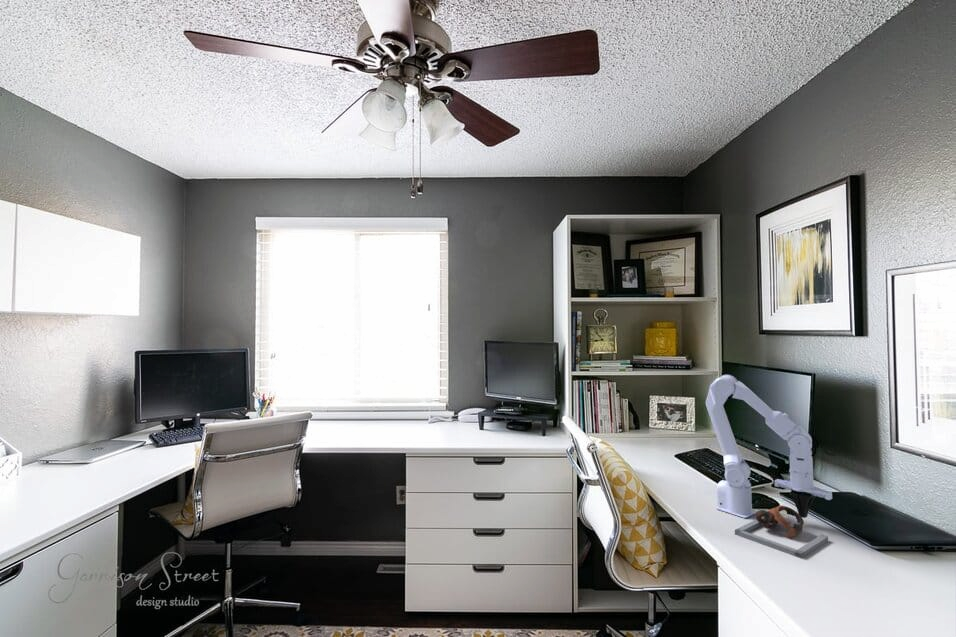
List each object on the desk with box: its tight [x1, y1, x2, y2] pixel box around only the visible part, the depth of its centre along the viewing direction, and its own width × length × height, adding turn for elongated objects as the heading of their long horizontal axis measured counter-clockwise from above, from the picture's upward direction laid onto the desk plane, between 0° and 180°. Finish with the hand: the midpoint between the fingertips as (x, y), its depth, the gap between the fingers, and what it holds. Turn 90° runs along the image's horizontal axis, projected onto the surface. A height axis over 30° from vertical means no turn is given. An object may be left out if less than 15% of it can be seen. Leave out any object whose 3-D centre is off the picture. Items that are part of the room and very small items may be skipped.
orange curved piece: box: [754, 505, 805, 539], centre depth 132 cm, size 12×10×8 cm
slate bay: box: [734, 517, 829, 559], centre depth 129 cm, size 17×16×1 cm
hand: (803, 516), depth 137 cm, fingers closed
